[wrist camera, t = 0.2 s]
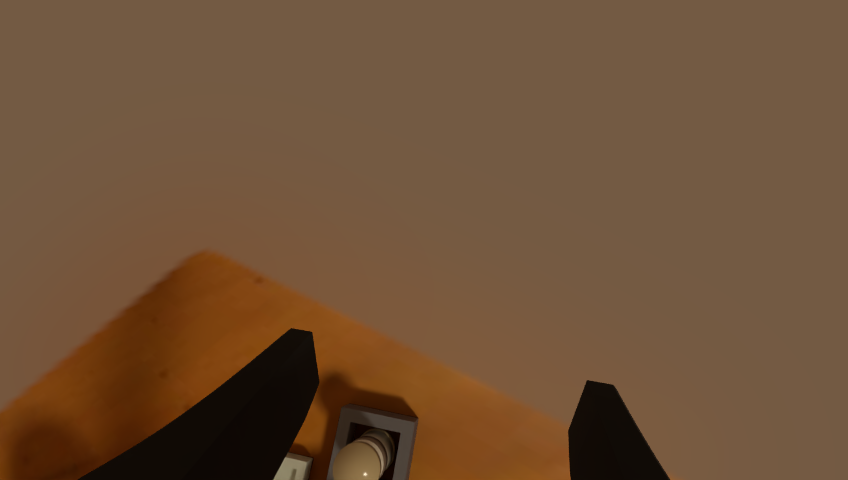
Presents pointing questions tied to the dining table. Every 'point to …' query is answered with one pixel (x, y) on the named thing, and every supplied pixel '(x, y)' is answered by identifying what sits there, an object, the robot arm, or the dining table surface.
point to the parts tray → (294, 468)
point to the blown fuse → (365, 456)
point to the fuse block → (379, 420)
